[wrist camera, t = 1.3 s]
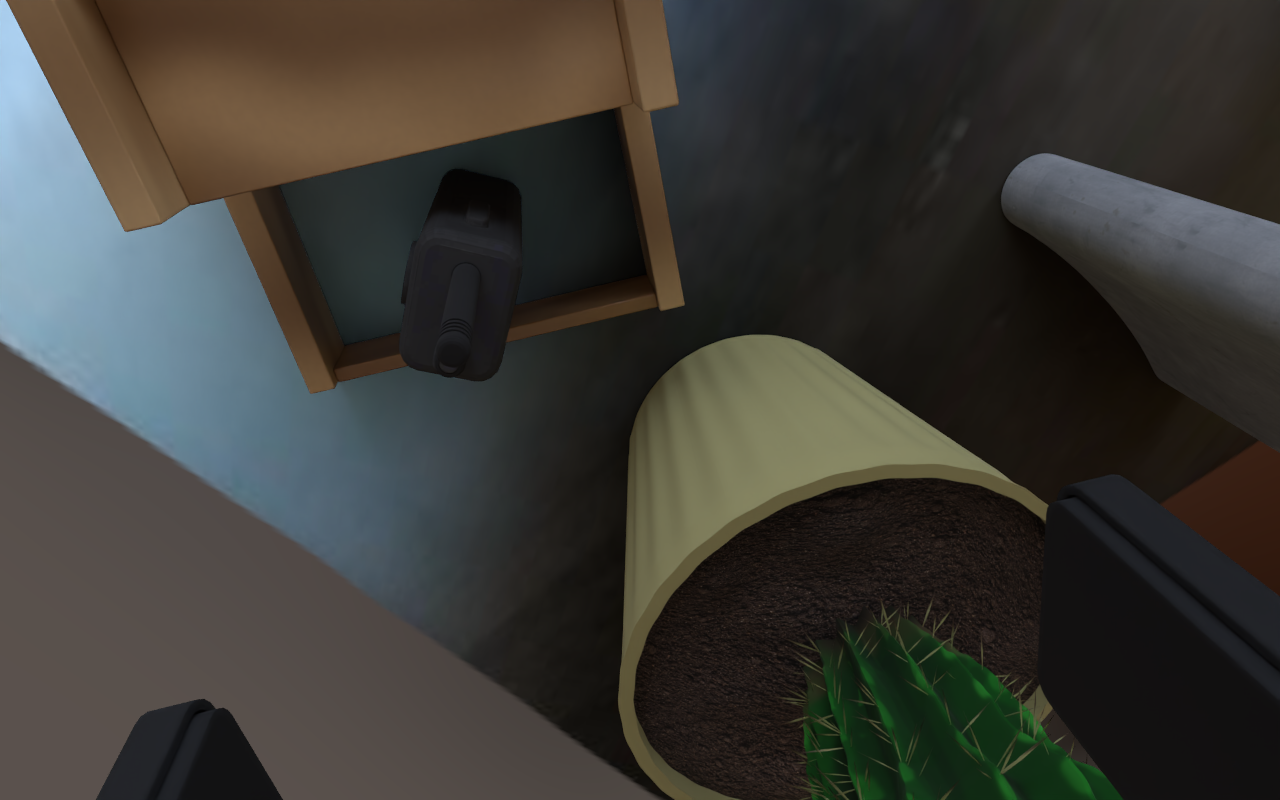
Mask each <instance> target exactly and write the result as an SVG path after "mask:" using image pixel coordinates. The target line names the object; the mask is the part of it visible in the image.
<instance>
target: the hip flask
mask: <svg viewBox="0 0 1280 800" xmlns="http://www.w3.org/2000/svg"><path fill="white" fill-rule="evenodd" d="M1001 206H1002V210H1003V213H1004V215H1005V217H1006V218H1007V219H1008V220H1009V221H1010V222H1011V223H1012V224H1014V225H1015V226H1017V227H1019V228H1020V229H1022V230H1024V231H1025V232H1027V233H1029V234H1030V235H1032V236H1033V237H1035V238H1036V239H1038V240H1039V241H1041V242H1042V243H1044V244H1045V245H1046V246H1048V247H1049V248H1050V249H1052V250H1053V251H1054V252H1056V253H1057V254H1058V255H1059V256H1061V257H1062V258H1063V259H1064V260H1065V261H1067V262H1068V263H1069V264H1070V265H1071V266H1072V267H1074V268H1075V269H1076V270H1077V271H1078V272H1079V273H1080V274H1081V275H1082V276H1083V277H1084V278H1085V279H1086V280H1087V281H1088V282H1089V283H1090V284H1091V285H1092V286H1093V287H1094V288H1095V289H1096V290H1097V291H1098V292H1099V293H1100V294H1101V296H1102V297H1103V298H1104V299H1105V300H1106V301H1107V302H1108V303H1109V304H1110V305H1111V307H1112V308H1113V309H1114V310H1115V311H1116V313H1117V314H1118V315H1119V316H1120V317H1121V319H1122V320H1123V321H1124V323H1125V324H1126V325H1127V327H1128V328H1129V330H1130V331H1131V332H1132V334H1133V335H1134V337H1135V338H1136V340H1137V341H1138V343H1139V344H1140V346H1141V348H1142V350H1143V351H1144V353H1145V355H1146V357H1147V358H1148V360H1149V362H1150V364H1151V366H1152V369H1153V371H1154V373H1155V374H1156V376H1157V377H1158V378H1159V379H1160V380H1161V381H1163V382H1165V383H1166V384H1168V385H1170V386H1171V387H1173V388H1175V389H1176V390H1178V391H1179V392H1181V393H1183V394H1184V395H1186V396H1188V397H1189V398H1191V399H1193V400H1194V401H1196V402H1198V403H1199V404H1201V405H1202V406H1204V407H1206V408H1207V409H1209V410H1211V411H1212V412H1214V413H1216V414H1217V415H1219V416H1220V417H1222V418H1224V419H1225V420H1227V421H1229V422H1230V423H1232V424H1234V425H1235V426H1237V427H1238V428H1240V429H1242V430H1243V431H1245V432H1247V433H1248V434H1250V435H1252V436H1253V437H1255V438H1257V439H1258V440H1260V441H1261V442H1263V443H1265V444H1266V445H1268V446H1270V447H1271V448H1273V449H1275V450H1276V451H1278V452H1279V453H1280V224H1276V223H1273V222H1270V221H1267V220H1263V219H1260V218H1257V217H1254V216H1251V215H1247V214H1244V213H1241V212H1238V211H1234V210H1231V209H1228V208H1225V207H1222V206H1218V205H1215V204H1212V203H1209V202H1205V201H1202V200H1199V199H1196V198H1193V197H1189V196H1186V195H1183V194H1180V193H1176V192H1173V191H1170V190H1167V189H1164V188H1160V187H1157V186H1154V185H1151V184H1147V183H1144V182H1141V181H1138V180H1135V179H1131V178H1128V177H1125V176H1122V175H1118V174H1115V173H1112V172H1109V171H1106V170H1102V169H1099V168H1096V167H1093V166H1089V165H1086V164H1083V163H1080V162H1077V161H1073V160H1070V159H1067V158H1064V157H1060V156H1057V155H1054V154H1048V153H1045V154H1038V155H1034V156H1031V157H1029V158H1027V159H1025V160H1024V161H1023V162H1021V163H1020V164H1019V165H1018V166H1017V167H1015V168H1014V170H1013V171H1012V172H1011V173H1010V175H1009V176H1008V178H1007V180H1006V182H1005V184H1004V187H1003V190H1002V195H1001Z"/></svg>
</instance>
